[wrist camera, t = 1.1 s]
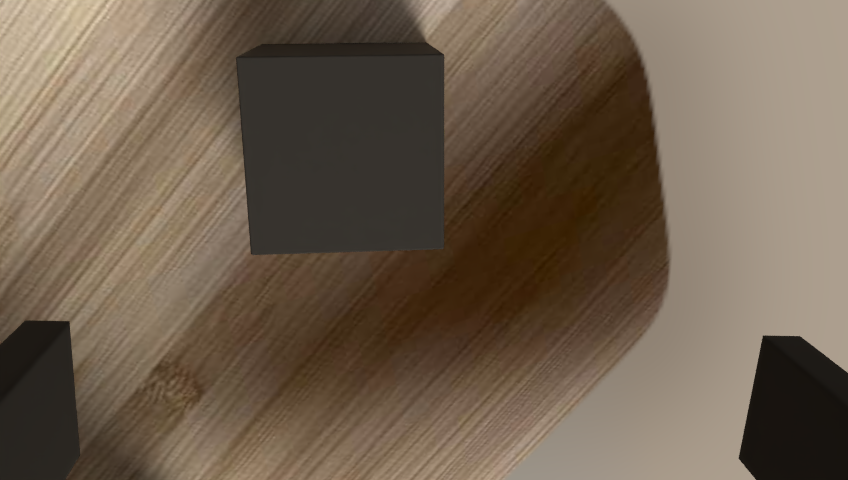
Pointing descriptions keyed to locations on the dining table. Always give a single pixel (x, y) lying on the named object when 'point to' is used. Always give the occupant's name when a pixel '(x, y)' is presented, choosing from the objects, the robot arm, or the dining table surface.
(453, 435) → the dining table surface
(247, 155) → the dark grey cube
